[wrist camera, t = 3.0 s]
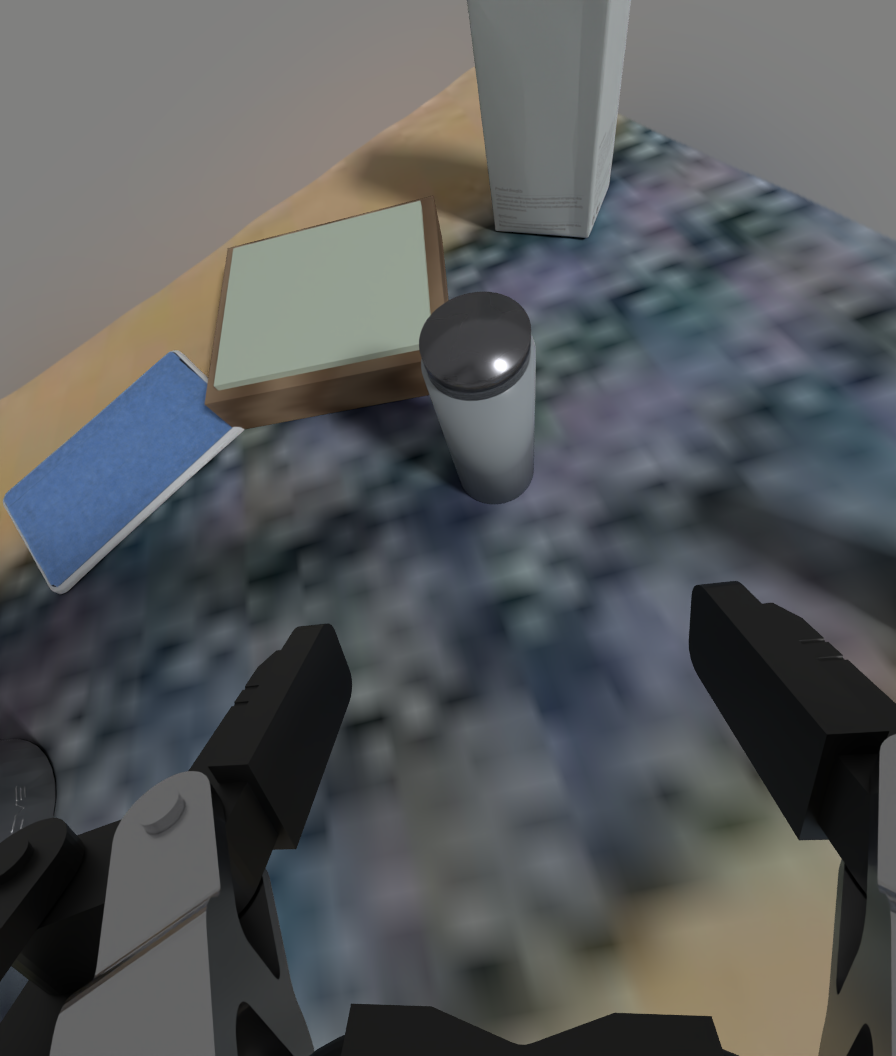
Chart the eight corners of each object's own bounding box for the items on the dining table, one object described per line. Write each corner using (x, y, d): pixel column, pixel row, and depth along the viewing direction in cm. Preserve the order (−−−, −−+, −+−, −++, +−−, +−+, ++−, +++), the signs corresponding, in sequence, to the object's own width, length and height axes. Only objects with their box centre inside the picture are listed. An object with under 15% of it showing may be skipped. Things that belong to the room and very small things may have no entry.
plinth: (235, 430, 34) (199, 400, 30) (252, 283, 39) (223, 242, 36) (457, 389, 31) (447, 350, 27) (442, 238, 37) (432, 188, 33)
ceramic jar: (462, 509, 28) (417, 396, 17) (456, 443, 30) (411, 302, 18) (539, 498, 27) (545, 373, 16) (528, 431, 29) (526, 277, 18)
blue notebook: (183, 353, 39) (172, 343, 38) (258, 425, 34) (248, 416, 33) (14, 503, 36) (-4, 497, 35) (69, 601, 32) (51, 598, 31)
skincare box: (608, 191, 35) (658, -126, 21) (586, 245, 33) (625, -59, 20) (511, 185, 37) (499, -105, 23) (487, 234, 36) (460, -44, 22)
